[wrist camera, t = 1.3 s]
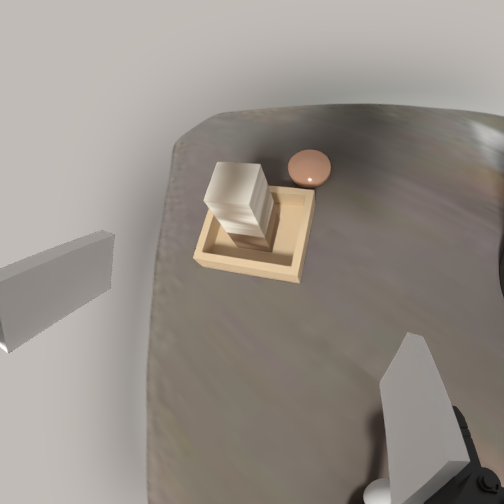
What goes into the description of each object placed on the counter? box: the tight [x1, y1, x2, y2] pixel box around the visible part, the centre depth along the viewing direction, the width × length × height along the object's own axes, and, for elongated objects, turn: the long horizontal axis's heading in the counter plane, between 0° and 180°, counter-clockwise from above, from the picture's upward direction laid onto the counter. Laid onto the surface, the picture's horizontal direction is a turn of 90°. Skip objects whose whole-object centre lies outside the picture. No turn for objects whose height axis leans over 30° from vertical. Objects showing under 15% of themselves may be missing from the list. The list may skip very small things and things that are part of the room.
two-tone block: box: [204, 162, 280, 252], centre depth 38 cm, size 5×5×13 cm
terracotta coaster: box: [288, 150, 331, 188], centre depth 46 cm, size 6×6×1 cm
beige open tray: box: [193, 185, 316, 284], centre depth 43 cm, size 14×12×4 cm
